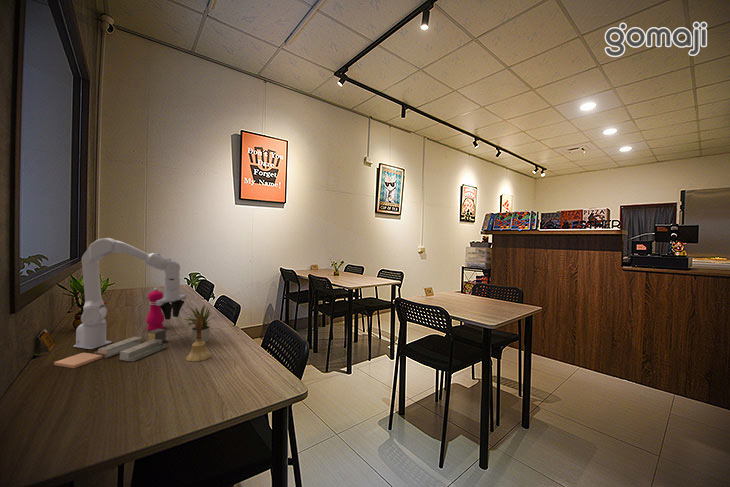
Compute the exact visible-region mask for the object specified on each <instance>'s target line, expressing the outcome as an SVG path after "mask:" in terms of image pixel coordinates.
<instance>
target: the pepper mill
mask: <svg viewBox="0 0 730 487" xmlns="http://www.w3.org/2000/svg"><path fill="white" fill-rule="evenodd" d="M147 298H148V300H149V302H148V303H149V311H148V314H147V316H146V318H145V321H146V324H147V328H146V330H147V331H152V330H155V329H164V324H163V322H164V321H165V316H164V313H163V311H162V309H161V308H160V306H158V305H156V301H158V300H161V299H163V298H164V293H163V292H162V291H160V290H159V288H158V287H154V288H153V291H151V292H149V293H148V295H147Z"/></svg>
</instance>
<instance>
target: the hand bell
mask: <svg viewBox="0 0 730 487" xmlns="http://www.w3.org/2000/svg"><path fill="white" fill-rule="evenodd" d="M195 319H196V318H195ZM194 327H195V328H196V331H197V336H196V337H197V338H196V342H195V343H194V342H193V343H192V344H191V350H190V353H189V354H188V355H187V356H186V357H185V360H186V361H187V362H192V363H193V362H194V363H195V362H202V361H206V360H207V359H209V358H210V357H212V354H211V352H209V351H208V349H207V345H206V343H205V342H203V341H201V331H202V327H203V320H202V317H201V314H200V315H199V316H197V319H196V322H195V324H194Z"/></svg>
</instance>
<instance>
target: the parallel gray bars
mask: <svg viewBox="0 0 730 487" xmlns="http://www.w3.org/2000/svg"><path fill="white" fill-rule="evenodd" d="M164 348H165V349H167V343H163V342H162V340H158V339H153V340H150V341H148V340H146V341H145V342H143V337H142V336H132V337H129V338H126V339H123V340H121V341H117V342H114V343H112V344H111V343H110V344H107V345H104V346H101V347H98V350H96V351H94V352H93V354H97V355H102V358H104V359H108V358H110V357H113V356H115V355H118V354H119V360H120V361H125V362H131V363H132V362H136V361H138V360H140V359H142V358H145V357H148V356H150V355H152V354H154V353H158V352H159V351H162V350H164Z"/></svg>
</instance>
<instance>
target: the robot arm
mask: <svg viewBox="0 0 730 487" xmlns="http://www.w3.org/2000/svg"><path fill="white" fill-rule="evenodd" d="M112 253H113V254H114V253H115V254H116V253H125V254H127V255H130V256H132V257H135V258H137V259H140V260H143V261H144V262H145V264H146V265H147V266H149V267H151V268H154V269H155V270H159V271H162V272H164V273H165V275H164V276H165V277H164V297H163V298H162V299H161V300H158V301H156V305H158V306H160V308H161V311H162V313H163V315H164V320H171V317H172V316H173V317H175V318H179V315H180V313H181V312H180V311H181V310H182V309H181V308H182V307H183V305H184V304H185V300H187V299H188V298H187V296H188V295H187V294H180V292H181V290H180V289H181V288H180V286H181V285H180V284H181V283H180V282H181V278H180V270H181V265H180V263H179V262H177V261H176V260H172V258H170V257H169V258H167V257H165V256H162V255H161V253H159V252H157V253H156V252H152V253H148V252H146V251H143V250H141V249H139V248H137V247H135V246H133V245H132V244H131V245H130V244H128V243H127V242H123V241H121V240H119V239H118V240H116V239H114V238H111V237H104V238H98V239H95V241H93V242H91V243H90V244H89V246H88V248H87V249H86V251H85V252H84V253H83V255H82V257H81V268H82V269H81V270H82V280H83V291H84V292H83V293H84V305H83V307H82V308H83V311H82V314H81V317H80V321H81V323H80V325H78V326H77V328H76V330H75V344H74V345H73V346H72V347H73V348H78V349H79V348H80V349H88V350H93V349H94V350H95V349H97V348H101V347H104V346H107V345H110V344H111V343H112V344H113V341H111V340H107V320H106V319H105V318H106V316H107V315H108V308H107V307H106V306H105V301H104V299H103V298H102V288H101V286H102V285H101V276H100V275H101V274H100V273H101V272H100V263H99V261H101V260H102V259H103V258H104V257H106V256H107V255H109V254H112Z"/></svg>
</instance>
